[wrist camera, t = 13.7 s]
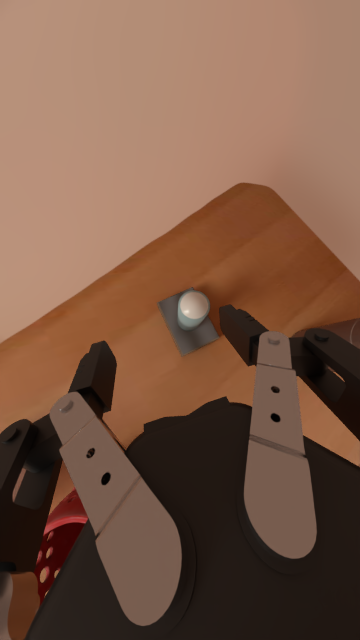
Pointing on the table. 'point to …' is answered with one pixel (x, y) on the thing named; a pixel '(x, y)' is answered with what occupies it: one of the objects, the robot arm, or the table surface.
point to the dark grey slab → (182, 338)
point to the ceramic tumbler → (192, 310)
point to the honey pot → (18, 483)
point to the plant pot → (59, 538)
